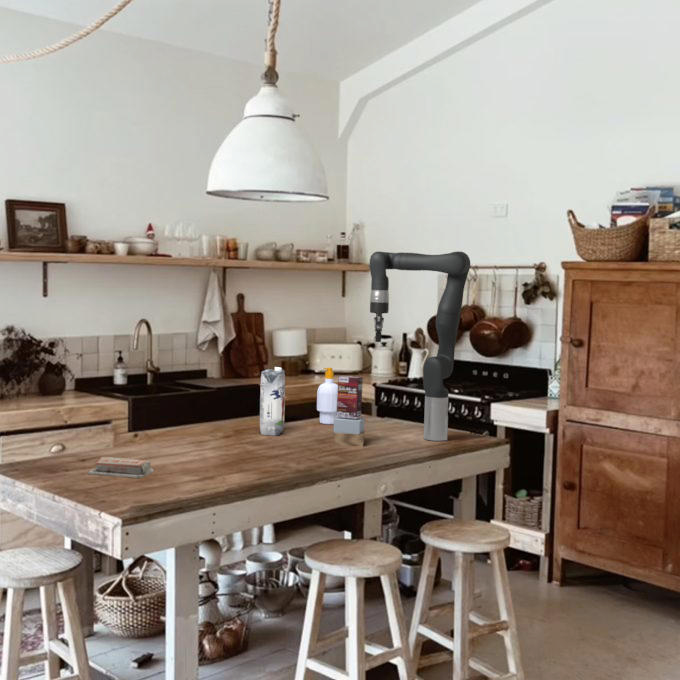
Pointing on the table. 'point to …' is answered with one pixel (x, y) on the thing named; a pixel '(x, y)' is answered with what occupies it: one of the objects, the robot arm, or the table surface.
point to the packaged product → (122, 467)
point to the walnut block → (349, 439)
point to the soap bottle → (327, 398)
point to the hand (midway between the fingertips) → (378, 341)
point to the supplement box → (349, 397)
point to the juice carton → (272, 401)
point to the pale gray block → (349, 425)
